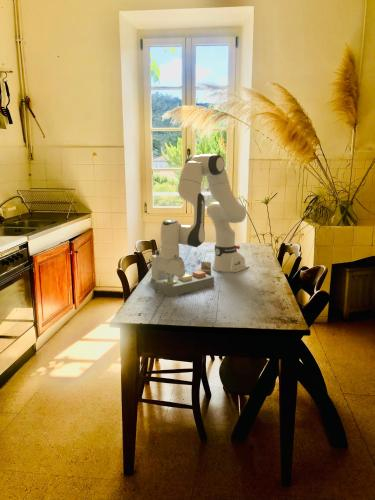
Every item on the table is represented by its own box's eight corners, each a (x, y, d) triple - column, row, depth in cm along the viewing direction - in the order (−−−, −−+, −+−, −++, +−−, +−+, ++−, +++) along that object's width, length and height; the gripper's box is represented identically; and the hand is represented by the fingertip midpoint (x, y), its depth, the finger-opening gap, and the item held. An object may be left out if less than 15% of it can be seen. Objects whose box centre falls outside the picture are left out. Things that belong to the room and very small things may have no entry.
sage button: (171, 286, 195) (171, 279, 194) (177, 289, 191) (177, 281, 190) (163, 288, 192) (163, 280, 191) (169, 291, 188) (169, 283, 188)
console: (199, 279, 210) (199, 271, 209) (213, 285, 201) (214, 277, 200) (155, 290, 194) (155, 281, 193) (168, 296, 184) (168, 287, 183)
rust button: (199, 277, 205) (199, 270, 204) (205, 280, 202) (205, 272, 201) (192, 279, 202) (192, 271, 201) (198, 281, 199) (198, 274, 198)
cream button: (186, 280, 200) (186, 273, 199) (191, 283, 196) (191, 275, 195) (178, 282, 197) (178, 275, 196) (184, 285, 193) (184, 277, 192)
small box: (168, 280, 208) (168, 257, 205) (157, 282, 205) (157, 258, 202) (162, 276, 215) (161, 253, 212) (151, 278, 212) (150, 255, 209)
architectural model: (210, 276, 217) (210, 263, 215) (197, 275, 218) (197, 263, 217) (211, 275, 220) (211, 262, 218) (199, 274, 222) (199, 261, 220)
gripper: (188, 257, 181) (188, 285, 184) (163, 248, 197) (164, 275, 200) (177, 259, 178) (177, 288, 181) (153, 250, 193) (153, 277, 197)
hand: (170, 281), depth 191 cm, fingers closed, pressing on sage button
